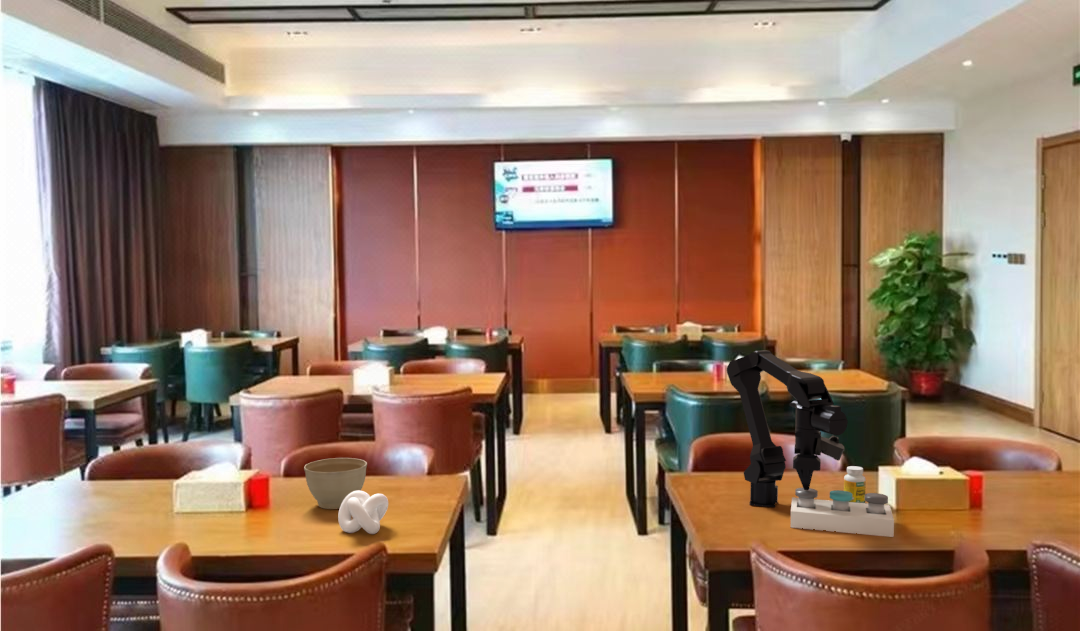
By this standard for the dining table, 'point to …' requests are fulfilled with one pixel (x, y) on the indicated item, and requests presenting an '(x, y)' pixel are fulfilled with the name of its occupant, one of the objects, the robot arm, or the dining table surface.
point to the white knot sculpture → (362, 512)
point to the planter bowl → (334, 479)
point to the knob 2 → (876, 502)
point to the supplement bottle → (855, 484)
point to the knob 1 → (806, 497)
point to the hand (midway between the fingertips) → (806, 489)
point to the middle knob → (840, 500)
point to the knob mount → (842, 518)
